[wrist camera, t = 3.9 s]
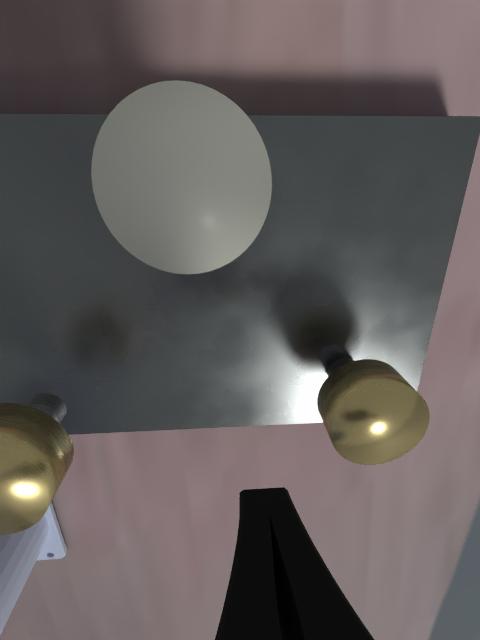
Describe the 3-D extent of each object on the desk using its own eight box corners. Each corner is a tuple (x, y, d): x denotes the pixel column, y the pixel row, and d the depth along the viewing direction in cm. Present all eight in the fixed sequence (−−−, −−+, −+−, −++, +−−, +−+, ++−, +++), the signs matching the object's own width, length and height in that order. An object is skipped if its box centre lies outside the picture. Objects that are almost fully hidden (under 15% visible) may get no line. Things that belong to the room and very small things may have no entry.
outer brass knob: (302, 404, 18) (326, 467, 14) (307, 337, 16) (336, 387, 12) (373, 400, 18) (418, 462, 14) (385, 335, 16) (439, 383, 12)
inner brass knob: (12, 445, 15) (-61, 539, 11) (-14, 370, 14) (-110, 448, 10) (101, 441, 15) (60, 531, 11) (85, 366, 14) (32, 441, 10)
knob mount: (17, 413, 19) (-4, 437, 18) (-79, 122, 14) (-125, 112, 12) (393, 397, 21) (410, 418, 19) (451, 124, 15) (483, 116, 13)
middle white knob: (143, 245, 12) (106, 275, 8) (128, 118, 10) (74, 79, 6) (252, 243, 12) (269, 272, 8) (253, 119, 11) (275, 81, 7)
